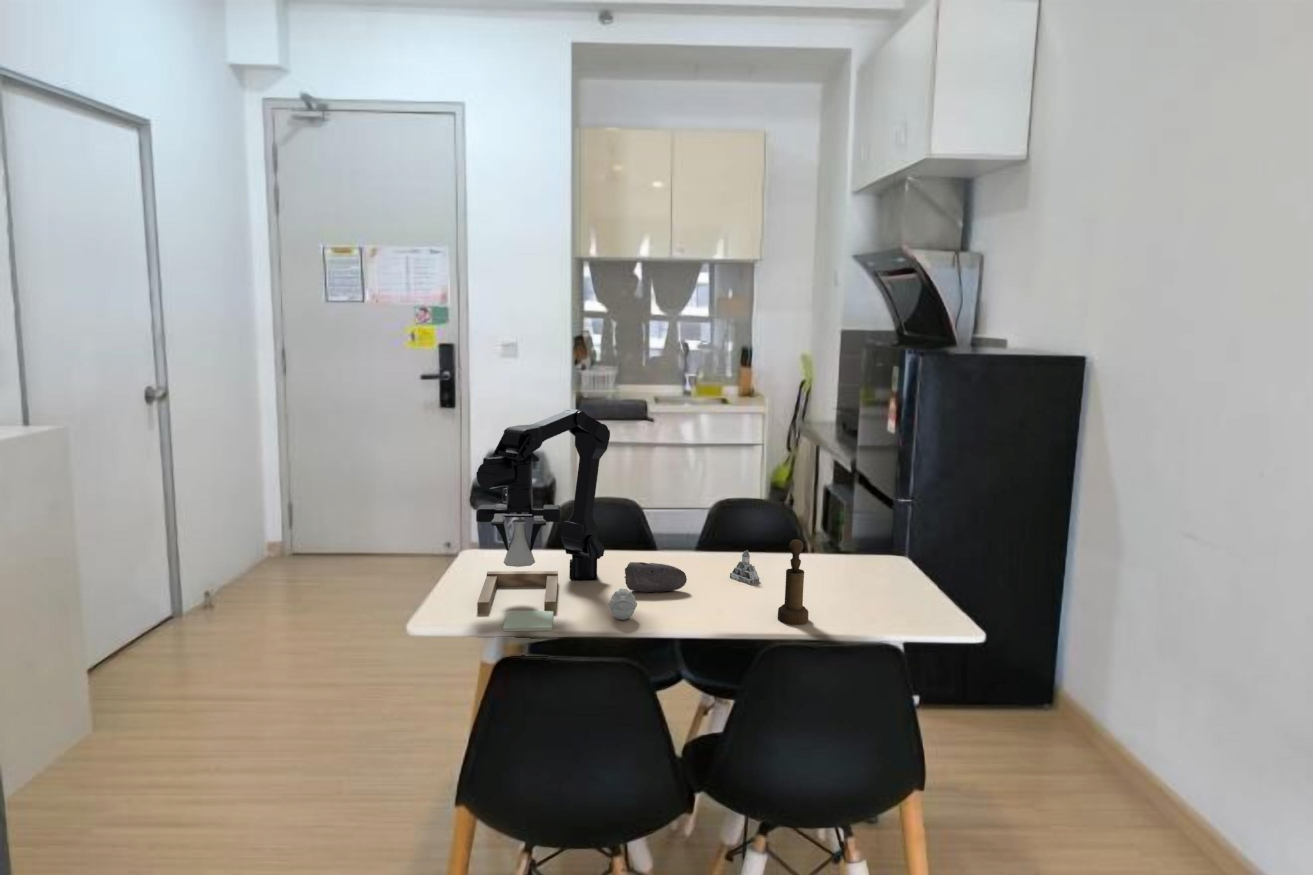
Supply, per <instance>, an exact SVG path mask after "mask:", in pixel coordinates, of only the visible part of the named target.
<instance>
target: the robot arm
mask: <svg viewBox="0 0 1313 875" xmlns="http://www.w3.org/2000/svg"><path fill="white" fill-rule="evenodd" d="M565 432H569V433H570V434H572V435H573V436H574V447H575V449H576V451H577V454H578V457H579V458H578V459H579V461H578V467H577V468H578V469H577V476H576V483H575V484H576V485H575V492H574V501H573V509H572V514H571V516H570V517H569V518H568V520H564V521H563V522H562V532H561V533H560V534H561V535H560V538H561V543H562V545H563V547H564V550H565V554H566V555H571V559H569V579H570V580H571V581H572V582H577V581H578V582H582V581H583V582H585V581H586V582H589V581H590V582H591V581H595V582H596V581H598V560H599V559H601V558H602V557H603V556H604V555H605V549H606V547H605V546H604V545H603V544H602V543H601V542H600V540H599V539H598V527H597V525H596V522H595V519H594V517H593V514H594V507H595V497H596V490H597V484H598V483H597V482H598V475H599V467H600V460H601V458H602V457H603V456H604V454H605V453H606V452H607V450H608V447H609V442H610V438H611V430H610V429H609V428H608V426H607V424H604V423H602V422H600V421H599V420H597V419H595V418H593V417H592V416H589V415H588V413H586V412H584V411H583V410H581V409H576V408H567V409H564V410H563V411H562V412H559V413H557V414H554V415H552V416H549V417H547V418H544V419H542V420H540V421H538V422H535V423H533V424H532V423H531V424H519V425H514V426H513V425H511V426H508V427H506V428H505V429H504V431H503V434H502V436H501V438H500V440H499V442H498V444H497V446H496V447H495V449H494V452H493V453H492V456H491V457H484V458H482V463H481V464H480V465H479V466H478V468H477V471H476V473H475V474H476V480H477V483H478V485H479V486H480V487H481V489H483V490H491V489H498V488H501V487H502V494H501V502H502V503H504V504H505V503H506V508H497V504H480V505H479V506H478V507H477V510H476V515H475V517H476V518H475V521H476V522H478V523H490V522H491V523H490V526H495V528H496V529H497V532H498V533H499V535H500V537H501V540H502V542H503V545H504V547H505V549H506V552H507V551H508V549H509V545H510V542H509V535H508V534H509V533H508V524H507V518H533V522H532V527H531V528H532V529H531V536H530V541H529V542H530V543H529V546H530V551H533V548H534V544H535V543H536V542H535V541H536V538H537V536H538V533H539V532H540V530H541V528H542V526H547V523H559V522H561V519H562V506H560V504H543V508H533V507H534V495H533V463H536V462H539V461H540V458H539V457H538V456H537V455H536V454H535V453H534V452H535V451H537V450H538V449H540V448H541V447H542V445H543V443H544V442H546V441H547V440H550V439H552V438H554V437H557V436H559V435H561V434H564V433H565ZM503 487H506V488H503Z"/></svg>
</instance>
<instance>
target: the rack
mask: <svg viewBox="0 0 1313 875" xmlns="http://www.w3.org/2000/svg"><path fill="white" fill-rule="evenodd" d="M485 576H486V577H485V579H484V582H483V584H482V585H483V586H482V588H481V591H480V594H479V597H478V599H477V604H476V607H477V608H476V610H477V611H476V613H477V614H490V611H491V609H492V608H491V607H492V605H493V601H494V599H495V598H494V597H495V595H496V594H495V593H496V592H497V587H515V586H516V587H517V586H518V587H519V586H521V587H523V586H524V587H525V586H527V587H528V586H529V587H530V586H531V587H535V586H538V587H539V586H540V587H542V586H543V587H544V586H545V592H544V602H543V603H544V604H543V605H544V606H543V607H544V608H543V611H553V614H554V613H557V602H558V587H559V570H534V571H533V570H528V571H526V570H523V571H519V570H518V571H515V570H514V571H513V570H512V571H511V570H509V571H506V570H505V571H503V570H502V571H496V570H495V571H492V570H491V571H487V572H486V575H485Z"/></svg>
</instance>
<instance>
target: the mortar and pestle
mask: <svg viewBox="0 0 1313 875" xmlns="http://www.w3.org/2000/svg"><path fill="white" fill-rule="evenodd" d="M788 547H789V548H788V549H789V550H790V553H791V556H792V558H791V559H790V560H789V561H790V566H791V568H787V569H786V570H785V586H784V587H785V589H784V604H782V605H781V606H780V607H778V609H777V620H778V621H779V622H781V623H783V624H786V625H793V626H795V625H796V626H798V625H799V626H800V625H805V624H807V623H808V622H809V610H808V608H806V607H805V606H804V604H803V601H804V585H805V584H804V583H805V582H804V580H805V570H804V569H800V567H801V564H802V559H800V556H801V553H802V551H803V549H804V543H803V542H802V541H801V540H800V539H792V540H791V541H789V545H788Z"/></svg>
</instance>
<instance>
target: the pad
mask: <svg viewBox="0 0 1313 875" xmlns="http://www.w3.org/2000/svg"><path fill="white" fill-rule="evenodd" d="M553 621H554V613H553V611H544V610H508V611H506V615H505V619H504V623H503V626H502V631H503V632H510V631H511V632H518V631H519V632H532V631H533V632H536V631H542V632H543V631H544V632H545V631H553V623H554V622H553Z"/></svg>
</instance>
